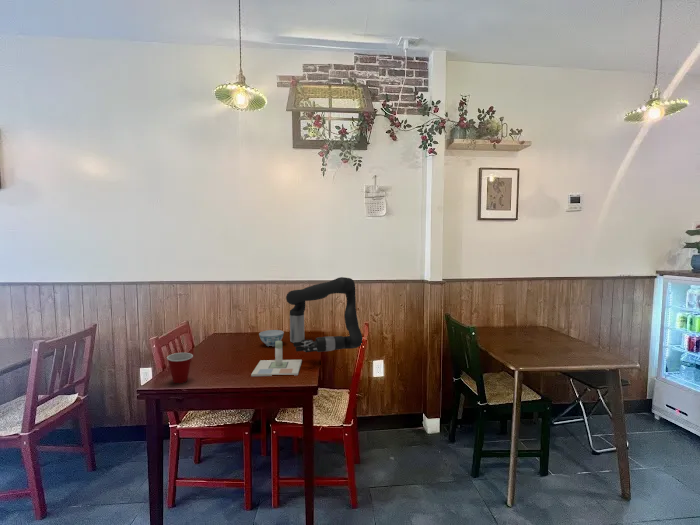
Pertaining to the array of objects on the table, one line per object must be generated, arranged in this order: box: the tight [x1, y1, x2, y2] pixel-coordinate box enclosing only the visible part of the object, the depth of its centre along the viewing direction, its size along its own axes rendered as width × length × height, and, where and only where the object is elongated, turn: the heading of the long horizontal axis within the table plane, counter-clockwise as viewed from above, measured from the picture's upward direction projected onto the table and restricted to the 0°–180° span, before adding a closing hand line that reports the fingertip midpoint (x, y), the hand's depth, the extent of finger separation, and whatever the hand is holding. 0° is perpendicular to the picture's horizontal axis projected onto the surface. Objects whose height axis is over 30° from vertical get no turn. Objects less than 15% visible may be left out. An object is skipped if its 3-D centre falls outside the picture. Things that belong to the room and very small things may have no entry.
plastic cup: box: [166, 352, 194, 384], centre depth 159 cm, size 11×11×12 cm
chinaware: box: [258, 329, 285, 347], centre depth 216 cm, size 15×15×8 cm
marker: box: [274, 340, 283, 366], centre depth 176 cm, size 4×4×12 cm
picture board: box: [250, 359, 303, 377], centre depth 175 cm, size 20×22×1 cm
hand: (294, 346), depth 179 cm, fingers open, 8 cm apart
